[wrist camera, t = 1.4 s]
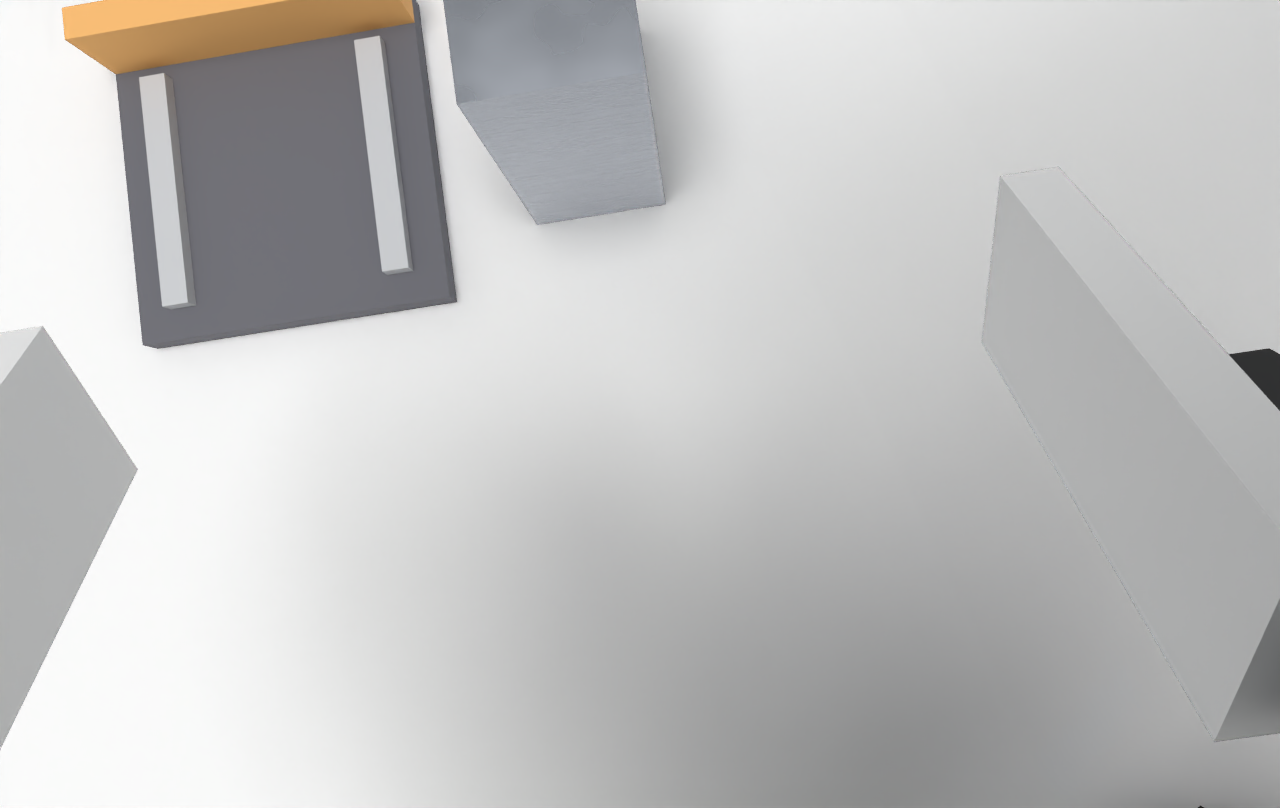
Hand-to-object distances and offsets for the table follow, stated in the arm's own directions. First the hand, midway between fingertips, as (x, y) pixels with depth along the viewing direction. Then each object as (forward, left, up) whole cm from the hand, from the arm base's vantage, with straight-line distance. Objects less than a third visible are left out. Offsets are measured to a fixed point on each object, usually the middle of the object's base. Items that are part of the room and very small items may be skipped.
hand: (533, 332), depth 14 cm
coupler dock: (+12, -12, -23) cm, 28 cm away
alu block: (0, -12, -23) cm, 25 cm away
